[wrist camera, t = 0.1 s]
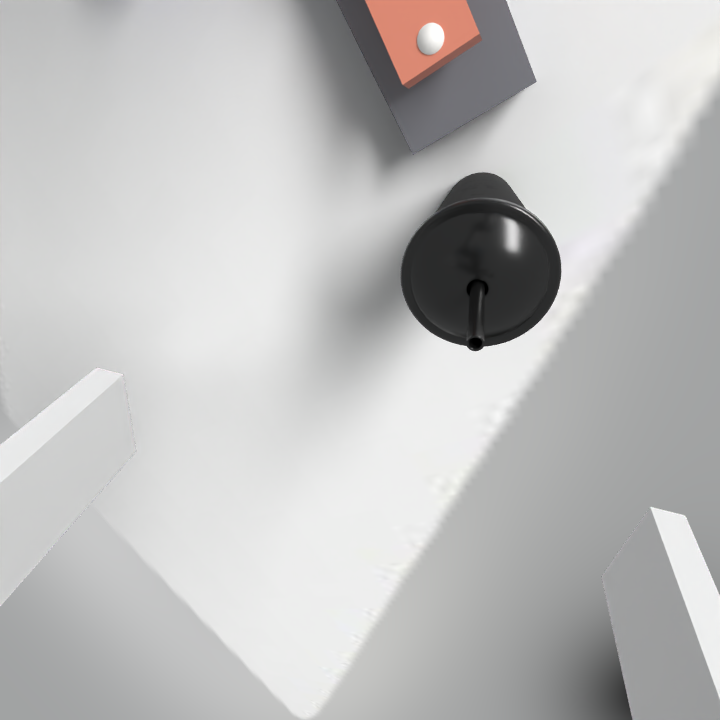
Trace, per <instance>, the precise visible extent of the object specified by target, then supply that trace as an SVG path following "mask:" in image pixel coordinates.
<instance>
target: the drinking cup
mask: <svg viewBox="0 0 720 720" xmlns="http://www.w3.org/2000/svg"><path fill="white" fill-rule="evenodd" d="M560 280H561V260H560V255H559V251H558V248H557V245H556V243H555V240H554V238H553V236H552V235H551V233H550V231H549V230H548V228H547V227H546V226H545V225H544V224H543V222H542V221H541V220H540V219H539V218H537V217H536V216H535V215H534V214H533V213H531V212H530V211H528V210H527V209H526V208H525V207H524V205H523V204H522V203H521V201H520V200H519V199H518V197H517V196H516V194H515V193H514V192H513V190H512V189H511V187H510V186H509V185H508V184H507V182H506V181H505V180H503V179H502V178H500V177H499V176H497V175H494V174H491V173H475V174H471V175H469V176H467V177H465V178H463V179H462V180H460V181H459V182H458V183H457V184H456V185H455V186H454V187H453V189H452V190H451V192H450V193H449V194H448V196H447V197H446V199H445V200H444V201H443V203H442V204H441V206H440V207H439V208H438V210H437V211H436V213H434V214H433V215H432V216H430V217H429V218H428V219H427V220H426V221H425V222H424V223H423V224H422V225H421V226H420V227H419V228H418V229H417V231H416V232H415V233H414V235H413V236H412V238H411V240H410V242H409V244H408V246H407V248H406V250H405V253H404V256H403V260H402V265H401V286H402V291H403V295H404V298H405V301H406V303H407V305H408V307H409V309H410V311H411V312H412V314H413V315H414V316H415V318H416V319H417V320H418V321H419V322H420V323H421V324H422V325H423V326H424V327H425V328H426V329H427V330H429V331H430V332H431V333H433V334H434V335H436V336H438V337H440V338H442V339H444V340H446V341H449V342H452V343H455V344H459V345H464V346H467V347H468V348H469V349H470V350H472V351H479V350H481V349H482V348H483V347H484V346H492V345H497V344H501V343H504V342H507V341H510V340H512V339H515V338H517V337H519V336H520V335H522V334H524V333H525V332H527V331H528V330H530V329H531V328H532V327H534V326H535V325H536V324H537V323H538V322H539V321H540V320H541V319H542V318H543V317H544V315H545V314H546V313H547V312H548V310H549V309H550V307H551V305H552V304H553V302H554V300H555V297H556V295H557V292H558V289H559V285H560Z"/></svg>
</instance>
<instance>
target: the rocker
mask: <svg viewBox="0 0 720 720" xmlns="http://www.w3.org/2000/svg"><path fill="white" fill-rule="evenodd" d="M365 1H366V4H367V6H368V8H369V10H370V13H371V15H372V17H373V19H374V22H375V24H376V26H377V28H378V31H379V33H380V35H381V37H382V40H383V42H384V44H385V46H386V49H387V51H388V53H389V55H390V58H391V60H392V62H393V64H394V67H395V69H396V71H397V73H398V76H399V78H400V80H401V82H402V85H403V86H405V87H407V88H408V89H409V88H410V87H412V86H413V85H415V84H416V83H418V82H420V81H421V80H423V79H424V78H426V77H427V76H429V75H430V74H432V73H433V72H435V71H436V70H438V69H439V68H441V67H442V66H444V65H445V64H447V63H448V62H450V61H451V60H453V59H454V58H456V57H457V56H459V55H460V54H462V53H463V52H465V51H467V50H468V49H470V48H471V47H473V46H474V45H476V44H477V43H479V42H480V41H482V38H481V36H480V33H479V31H478V28H477V26H476V23H475V21H474V19H473V16H472V14H471V11H470V9H469V6H468V4H467V1H466V0H365Z"/></svg>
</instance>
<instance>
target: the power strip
mask: <svg viewBox="0 0 720 720" xmlns="http://www.w3.org/2000/svg"><path fill="white" fill-rule="evenodd" d="M336 1H337V3H338V5H339V7H340V9H341V11H342V13H343V15H344V17H345V19H346V21H347V23H348V25H349V27H350V29H351V31H352V33H353V35H354V37H355V39H356V41H357V43H358V45H359V47H360V49H361V51H362V53H363V55H364V57H365V59H366V61H367V63H368V65H369V67H370V69H371V71H372V73H373V75H374V77H375V79H376V82H377V84H378V86H379V88H380V90H381V92H382V94H383V96H384V98H385V100H386V102H387V104H388V106H389V108H390V110H391V112H392V114H393V116H394V118H395V120H396V122H397V124H398V126H399V128H400V130H401V132H402V134H403V136H404V138H405V140H406V142H407V144H408V146H409V148H410V150H411V152H412V154H415V153H417V152H418V151H420V150H422V149H424V148H425V147H427V146H429V145H430V144H432V143H434V142H435V141H437V140H439V139H440V138H442V137H444V136H446V135H447V134H449V133H451V132H452V131H454V130H456V129H457V128H459V127H461V126H462V125H464V124H466V123H468V122H469V121H471V120H473V119H474V118H476V117H478V116H479V115H481V114H483V113H485V112H486V111H488V110H490V109H491V108H493V107H495V106H496V105H498V104H500V103H501V102H503V101H505V100H507V99H508V98H510V97H512V96H513V95H515V94H517V93H518V92H520V91H522V90H523V89H525V88H527V87H529V86H530V85H532V84H534V83H535V82H536V79H535V76H534V74H533V71H532V68H531V66H530V63H529V60H528V58H527V55H526V52H525V50H524V47H523V44H522V42H521V39H520V37H519V34H518V31H517V29H516V26H515V23H514V21H513V18H512V15H511V13H510V10H509V7H508V5H507V2H506V0H466V1H467V4H468V6H469V9H470V11H471V14H472V16H473V19H474V21H475V23H476V26H477V28H478V31H479V33H480V36H481V38H482V41H480V42H479V43H477V44H476V45H474V46H473V47H471V48H470V49H468V50H467V51H465V52H463V53H462V54H460V55H459V56H457V57H456V58H454V59H453V60H451V61H450V62H448V63H447V64H445V65H444V66H442V67H441V68H439V69H438V70H436V71H435V72H433V73H432V74H430V75H429V76H427V77H426V78H424V79H423V80H421V81H420V82H418V83H416V84H415V85H413V86H412V87H410V88H409V89H408V88H407V87H405V86H403V85H402V82H401V80H400V78H399V76H398V73H397V71H396V69H395V67H394V64H393V62H392V60H391V58H390V55H389V53H388V51H387V49H386V46H385V44H384V42H383V40H382V37H381V35H380V33H379V31H378V28H377V26H376V24H375V22H374V19H373V17H372V15H371V13H370V10H369V8H368V6H367V4H366V1H365V0H336Z"/></svg>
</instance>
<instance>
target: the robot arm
mask: <svg viewBox="0 0 720 720" xmlns="http://www.w3.org/2000/svg"><path fill="white" fill-rule="evenodd" d="M136 452H137V451H136V445H135V439H134V433H133V427H132V421H131V415H130V409H129V403H128V398H127V392H126V386H125V380H124V374H121V373H117V372H113V371H109V370H105V369H101V368H97V367H96V368H95V369H94V370H93V371H91V372H90V373H89V374H88V375H86V376H85V377H84V378H83V379H82V380H80V381H79V382H78V383H77V384H75V385H74V386H73V387H72V388H70V389H69V390H68V391H67V392H65V393H64V394H63V395H62V396H60V397H59V398H58V399H57V400H55V401H54V402H53V403H52V404H50V405H49V406H48V407H47V408H45V409H44V410H43V411H42V412H40V413H39V414H38V415H37V416H36V417H34V418H33V419H32V420H31V421H29V422H28V423H27V424H26V425H24V426H23V427H22V428H21V429H19V430H18V431H17V432H16V433H14V434H13V435H12V436H11V437H9V438H8V439H7V440H6V441H4V442H3V443H2V444H1V445H0V606H1V605H2V604H3V603H4V601H5V600H6V599H7V598H8V597H9V596H10V594H12V592H13V591H14V590H15V589H16V588H17V587H18V586H19V584H20V583H21V582H22V581H23V580H24V579H25V577H26V576H27V575H28V574H29V573H30V572H31V571H32V570H33V568H34V567H35V566H36V565H37V564H38V563H39V561H41V559H42V558H43V557H44V556H45V555H46V554H47V553H48V552H49V550H50V549H51V548H52V547H53V546H54V545H55V544H56V542H57V541H58V540H59V539H60V538H61V537H62V535H63V534H64V533H65V532H66V531H67V530H68V529H69V528H70V527H71V525H72V524H73V523H74V522H75V521H76V520H77V519H78V517H79V516H80V515H81V514H82V513H83V512H84V511H85V509H86V508H87V507H88V506H89V505H90V504H91V503H92V502H93V500H94V499H95V498H96V497H97V496H98V495H99V494H100V492H101V491H102V490H103V489H104V488H105V487H106V486H107V484H108V483H109V482H110V481H111V480H112V479H113V478H114V477H115V475H116V474H117V473H118V472H119V471H120V470H121V469H122V467H123V466H124V465H125V464H126V463H127V462H128V461H129V459H130V458H131V457H132V456H133V455H134V454H135V453H136ZM601 577H602V582H603V587H604V591H605V596H606V600H607V605H608V609H609V614H610V619H611V623H612V628H613V632H614V637H615V641H616V645H617V650H618V655H619V660H620V664H621V668H622V673H623V677H624V682H625V687H626V691H627V696H628V701H629V705H630V710H631V714H632V718H633V720H720V595H719V593H718V591H717V588H716V586H715V584H714V581H713V579H712V577H711V574H710V572H709V570H708V567H707V565H706V563H705V560H704V558H703V556H702V554H701V551H700V549H699V547H698V544H697V542H696V540H695V537H694V535H693V533H692V530H691V528H690V526H689V523H688V521H687V519H686V516H685V515H680V514H677V513H673V512H669V511H665V510H660V509H657V508H653V507H650V508H649V510H648V511H647V512H646V514H645V515H644V516H643V518H642V519H641V521H640V522H639V524H638V525H637V526H636V528H635V529H634V531H633V532H632V534H631V535H630V536H629V538H628V539H627V541H626V542H625V544H624V545H623V546H622V548H621V549H620V551H619V552H618V554H617V555H616V557H615V558H614V559H613V561H612V562H611V564H610V565H609V566H608V568H607V569H606V571H605V572H604V574H603V575H602V576H601Z"/></svg>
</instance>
